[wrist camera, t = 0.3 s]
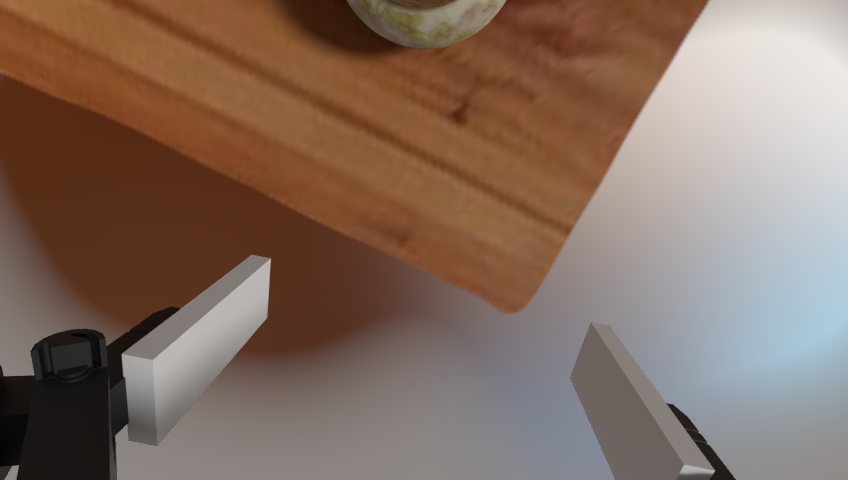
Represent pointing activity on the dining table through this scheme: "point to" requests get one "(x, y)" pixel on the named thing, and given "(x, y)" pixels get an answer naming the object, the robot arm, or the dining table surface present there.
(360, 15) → the sugar bowl
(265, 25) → the dining table surface
